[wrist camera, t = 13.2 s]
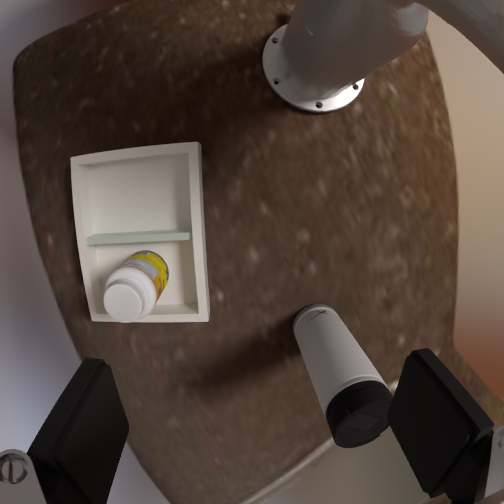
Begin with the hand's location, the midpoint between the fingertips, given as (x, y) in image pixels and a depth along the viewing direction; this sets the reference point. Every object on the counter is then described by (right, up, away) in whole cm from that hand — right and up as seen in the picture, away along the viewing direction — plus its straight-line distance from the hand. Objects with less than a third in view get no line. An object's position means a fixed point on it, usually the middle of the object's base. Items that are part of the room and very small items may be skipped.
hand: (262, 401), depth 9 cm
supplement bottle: (-13, +2, +28) cm, 31 cm away
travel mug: (+8, -5, +32) cm, 33 cm away
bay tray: (-13, +7, +27) cm, 31 cm away
